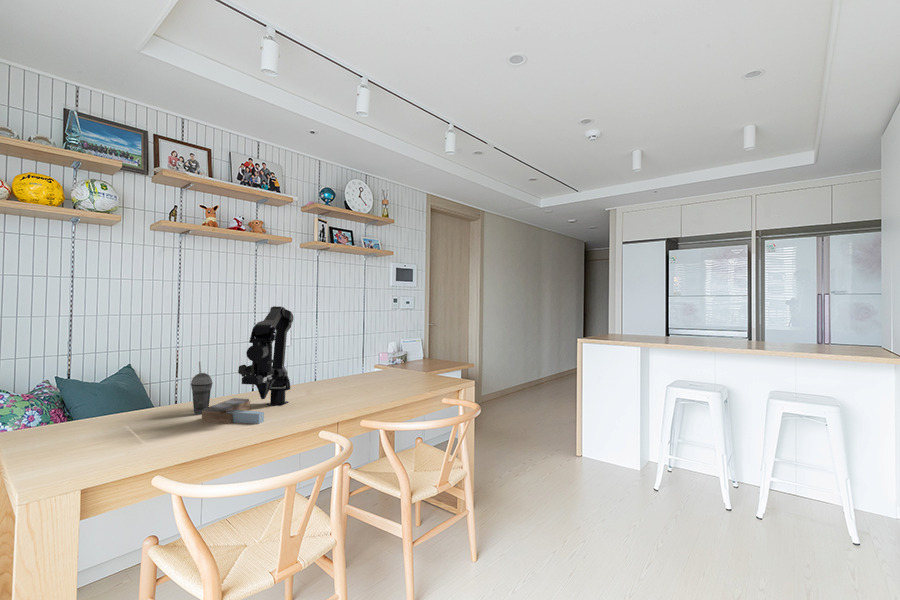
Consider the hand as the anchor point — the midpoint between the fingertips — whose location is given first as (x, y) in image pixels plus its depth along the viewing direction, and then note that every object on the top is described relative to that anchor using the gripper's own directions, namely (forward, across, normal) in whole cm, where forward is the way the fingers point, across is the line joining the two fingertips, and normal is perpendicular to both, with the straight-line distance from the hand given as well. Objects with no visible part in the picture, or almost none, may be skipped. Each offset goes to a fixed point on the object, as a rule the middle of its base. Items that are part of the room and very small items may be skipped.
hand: (263, 398), depth 160 cm
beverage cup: (+7, 0, -25) cm, 26 cm away
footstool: (+7, +1, -12) cm, 14 cm away
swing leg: (+7, +7, -3) cm, 10 cm away
